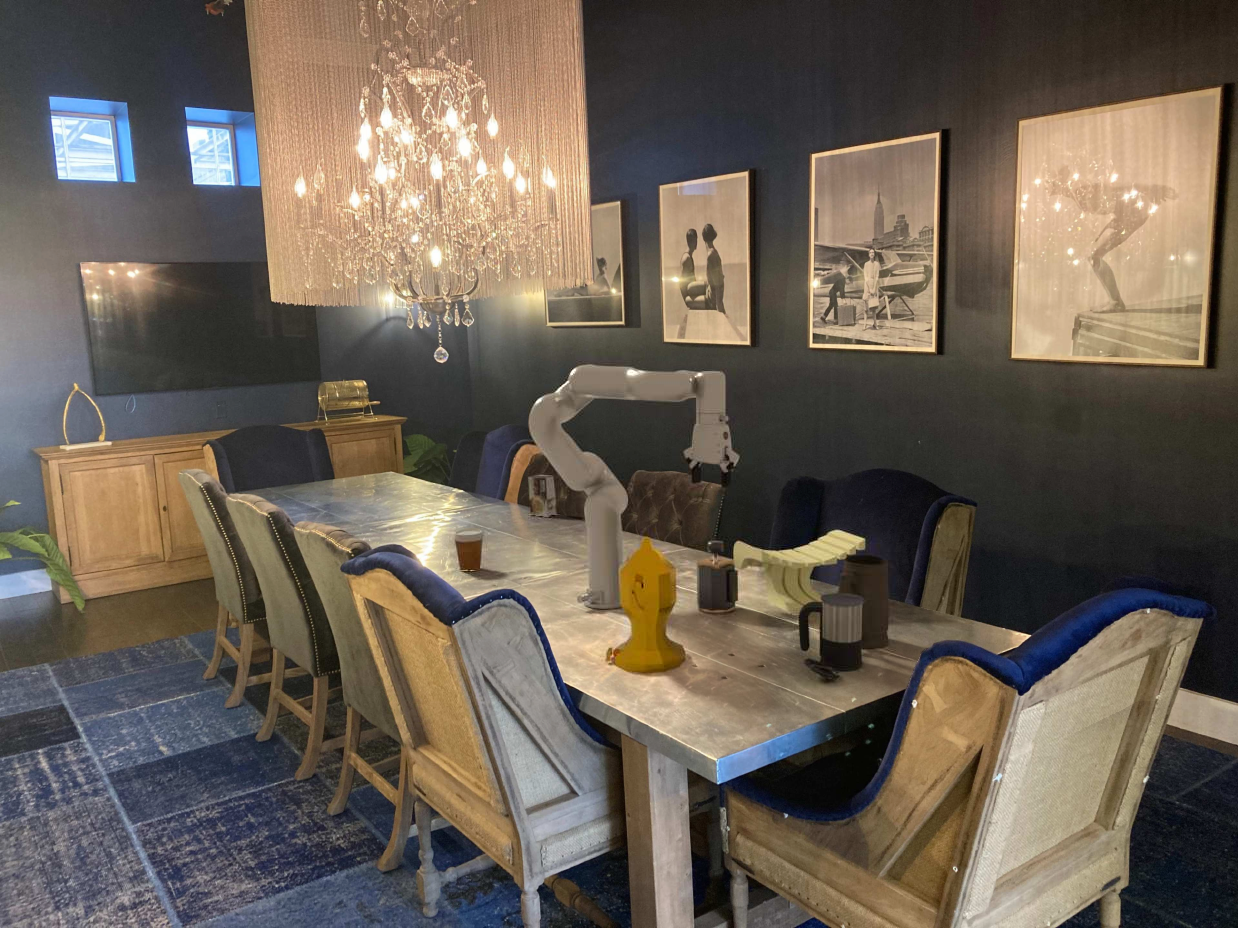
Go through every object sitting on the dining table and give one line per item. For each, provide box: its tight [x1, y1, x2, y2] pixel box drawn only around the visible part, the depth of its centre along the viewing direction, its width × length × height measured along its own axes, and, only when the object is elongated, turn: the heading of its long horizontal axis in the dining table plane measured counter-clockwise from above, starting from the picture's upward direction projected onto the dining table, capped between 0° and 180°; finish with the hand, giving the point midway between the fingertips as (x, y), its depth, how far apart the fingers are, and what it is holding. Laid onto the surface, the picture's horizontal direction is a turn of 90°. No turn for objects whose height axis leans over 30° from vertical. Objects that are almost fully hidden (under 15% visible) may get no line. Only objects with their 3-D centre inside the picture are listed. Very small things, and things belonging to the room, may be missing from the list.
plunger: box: [707, 540, 724, 562], centre depth 250 cm, size 6×6×15 cm
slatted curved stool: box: [732, 529, 866, 616], centre depth 253 cm, size 30×16×18 cm, turn 110°
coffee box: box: [527, 474, 558, 518], centre depth 385 cm, size 9×6×16 cm
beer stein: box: [837, 554, 890, 649], centre depth 220 cm, size 15×11×20 cm
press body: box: [696, 555, 739, 615], centre depth 251 cm, size 10×11×13 cm
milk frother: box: [798, 592, 865, 681], centre depth 204 cm, size 14×16×15 cm
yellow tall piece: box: [604, 536, 687, 674], centre depth 213 cm, size 18×24×28 cm
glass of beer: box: [452, 528, 485, 571], centre depth 300 cm, size 10×10×12 cm
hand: (711, 484), depth 250 cm, fingers open, 9 cm apart
